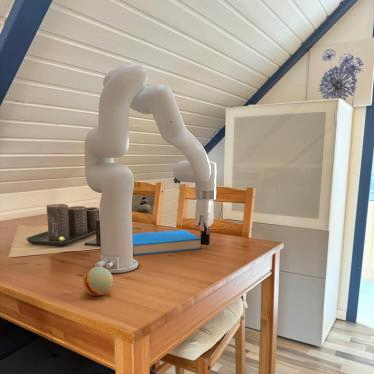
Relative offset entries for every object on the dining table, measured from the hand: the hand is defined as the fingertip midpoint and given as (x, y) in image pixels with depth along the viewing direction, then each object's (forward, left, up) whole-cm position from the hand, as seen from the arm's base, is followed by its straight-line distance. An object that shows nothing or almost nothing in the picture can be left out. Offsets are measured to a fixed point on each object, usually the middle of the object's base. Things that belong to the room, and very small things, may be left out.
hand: (205, 244), depth 130 cm
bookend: (-2, +41, -1) cm, 41 cm away
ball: (-51, +14, -2) cm, 53 cm away
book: (-3, +16, -2) cm, 17 cm away
